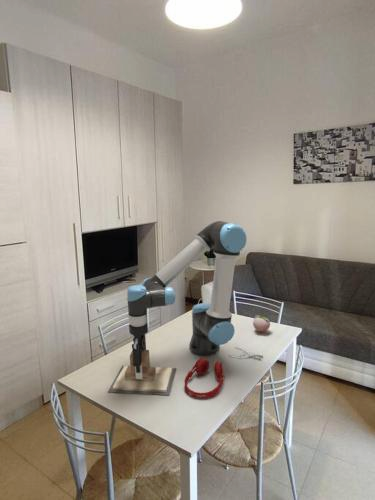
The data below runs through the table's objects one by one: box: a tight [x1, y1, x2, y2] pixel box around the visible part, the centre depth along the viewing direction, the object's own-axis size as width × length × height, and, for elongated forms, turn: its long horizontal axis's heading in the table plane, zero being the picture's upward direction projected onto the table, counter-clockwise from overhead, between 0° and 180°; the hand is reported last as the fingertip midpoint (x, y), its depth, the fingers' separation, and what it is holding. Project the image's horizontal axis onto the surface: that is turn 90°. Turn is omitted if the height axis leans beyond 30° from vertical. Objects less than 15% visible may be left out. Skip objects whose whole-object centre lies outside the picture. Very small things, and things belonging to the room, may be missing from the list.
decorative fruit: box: [252, 315, 271, 333], centre depth 181 cm, size 9×8×10 cm
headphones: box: [183, 358, 226, 400], centre depth 136 cm, size 15×7×20 cm
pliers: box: [227, 346, 264, 361], centre depth 158 cm, size 10×2×15 cm
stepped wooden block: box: [125, 349, 156, 381], centre depth 139 cm, size 12×5×11 cm, turn 84°
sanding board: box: [107, 365, 177, 397], centre depth 140 cm, size 25×19×2 cm
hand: (140, 374), depth 140 cm, fingers closed on stepped wooden block, 5 cm apart
